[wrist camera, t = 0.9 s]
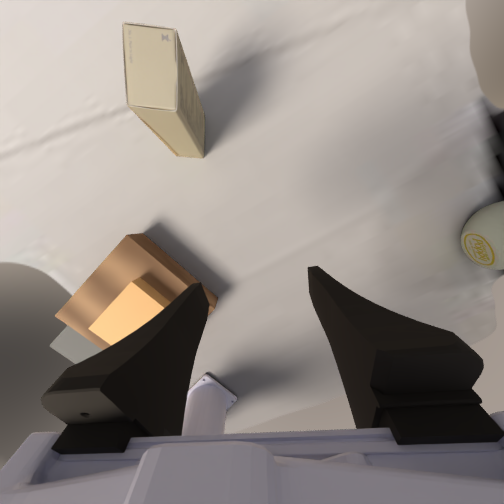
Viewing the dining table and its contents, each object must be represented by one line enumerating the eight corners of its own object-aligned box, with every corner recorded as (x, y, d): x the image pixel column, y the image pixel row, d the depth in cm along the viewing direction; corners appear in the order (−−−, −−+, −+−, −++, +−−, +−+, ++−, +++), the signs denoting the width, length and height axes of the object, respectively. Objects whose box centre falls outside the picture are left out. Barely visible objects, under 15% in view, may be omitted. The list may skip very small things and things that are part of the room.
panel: (157, 360, 32) (145, 380, 28) (79, 303, 30) (54, 315, 26) (218, 298, 31) (214, 309, 27) (142, 233, 28) (126, 234, 24)
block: (133, 345, 27) (124, 355, 25) (99, 320, 26) (88, 328, 24) (172, 304, 26) (167, 310, 24) (139, 277, 25) (131, 281, 23)
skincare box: (175, 111, 26) (119, 16, 14) (206, 115, 26) (177, 24, 14) (175, 158, 27) (122, 105, 15) (205, 160, 27) (177, 110, 15)
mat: (120, 391, 32) (118, 393, 32) (51, 344, 30) (49, 345, 30) (152, 357, 32) (151, 359, 31) (84, 307, 30) (82, 308, 29)
